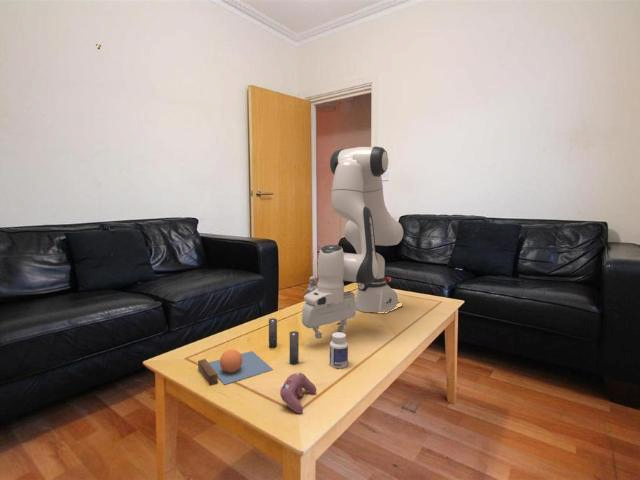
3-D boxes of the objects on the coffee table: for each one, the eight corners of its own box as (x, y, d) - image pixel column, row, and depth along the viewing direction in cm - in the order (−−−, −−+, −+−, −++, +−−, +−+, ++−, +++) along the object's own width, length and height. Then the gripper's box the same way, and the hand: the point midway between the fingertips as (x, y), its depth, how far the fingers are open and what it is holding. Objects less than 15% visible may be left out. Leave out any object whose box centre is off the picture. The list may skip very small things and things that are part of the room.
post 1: (274, 344, 112) (274, 317, 111) (278, 347, 110) (278, 320, 109) (267, 346, 111) (267, 319, 110) (271, 349, 109) (271, 321, 108)
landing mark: (252, 351, 107) (252, 350, 107) (273, 370, 96) (273, 369, 96) (206, 363, 99) (206, 362, 99) (224, 385, 87) (224, 384, 87)
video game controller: (303, 395, 86) (292, 369, 87) (318, 391, 85) (307, 364, 85) (286, 418, 77) (273, 389, 77) (302, 414, 75) (290, 384, 76)
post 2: (295, 359, 102) (295, 330, 101) (300, 363, 100) (300, 333, 99) (287, 362, 100) (287, 332, 99) (292, 365, 98) (292, 335, 97)
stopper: (205, 367, 97) (205, 358, 96) (217, 383, 89) (217, 373, 88) (198, 369, 95) (198, 360, 95) (209, 385, 87) (209, 376, 87)
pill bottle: (351, 364, 99) (352, 335, 98) (339, 370, 96) (339, 340, 95) (337, 358, 103) (338, 329, 102) (325, 364, 99) (326, 334, 98)
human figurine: (297, 319, 136) (297, 274, 134) (304, 317, 138) (304, 273, 136) (320, 327, 128) (320, 279, 126) (326, 324, 130) (327, 278, 128)
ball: (216, 368, 95) (237, 364, 99) (223, 378, 90) (245, 373, 94) (217, 348, 95) (237, 344, 98) (224, 357, 90) (246, 352, 93)
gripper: (348, 288, 122) (347, 325, 124) (299, 297, 111) (299, 338, 112) (360, 292, 117) (359, 331, 119) (310, 301, 105) (310, 345, 107)
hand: (329, 334), depth 115 cm, fingers open, 8 cm apart
